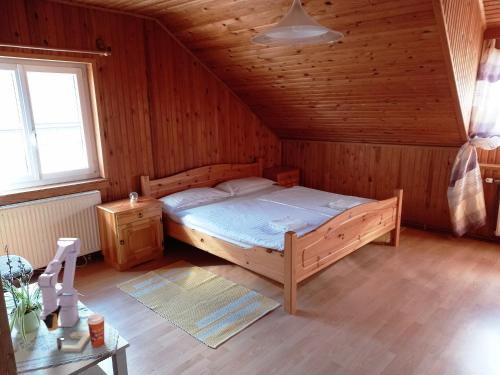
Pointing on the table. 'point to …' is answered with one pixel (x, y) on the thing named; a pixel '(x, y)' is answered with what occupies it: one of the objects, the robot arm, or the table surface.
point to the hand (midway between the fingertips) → (52, 324)
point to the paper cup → (96, 329)
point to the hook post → (59, 343)
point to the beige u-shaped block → (80, 345)
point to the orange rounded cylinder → (54, 322)
